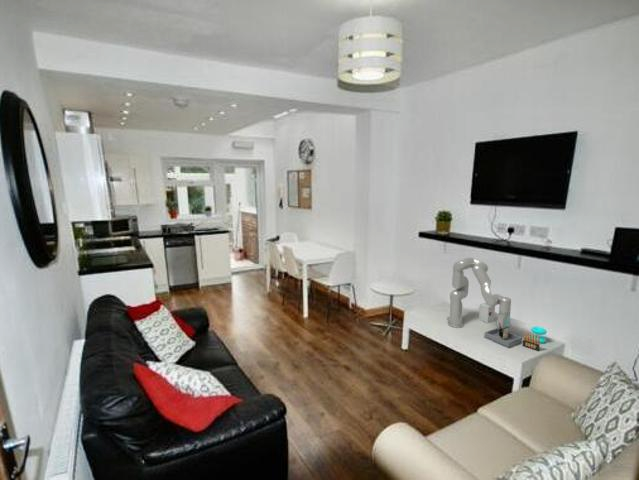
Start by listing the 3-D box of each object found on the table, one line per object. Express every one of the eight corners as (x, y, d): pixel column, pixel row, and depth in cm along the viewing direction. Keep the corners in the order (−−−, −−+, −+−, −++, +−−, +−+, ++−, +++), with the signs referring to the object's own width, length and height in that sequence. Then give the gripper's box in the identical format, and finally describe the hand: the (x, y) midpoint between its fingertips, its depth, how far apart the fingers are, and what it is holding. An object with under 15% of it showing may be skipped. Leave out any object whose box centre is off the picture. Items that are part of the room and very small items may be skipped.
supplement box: (487, 323, 289) (488, 307, 286) (478, 319, 297) (479, 304, 294) (494, 321, 293) (495, 305, 290) (485, 317, 301) (486, 302, 298)
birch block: (498, 336, 259) (498, 327, 258) (502, 335, 261) (502, 326, 260) (503, 339, 255) (504, 329, 254) (507, 337, 257) (508, 328, 256)
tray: (484, 337, 264) (484, 332, 263) (497, 332, 271) (497, 327, 270) (508, 348, 246) (508, 342, 246) (521, 343, 254) (522, 337, 253)
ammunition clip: (522, 346, 249) (523, 331, 247) (523, 345, 250) (524, 330, 248) (538, 351, 241) (539, 335, 239) (539, 350, 242) (540, 335, 240)
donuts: (542, 326, 259) (549, 331, 249) (541, 338, 260) (548, 344, 251) (528, 325, 260) (534, 331, 251) (527, 337, 262) (533, 343, 252)
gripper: (506, 309, 262) (505, 331, 265) (492, 313, 254) (491, 336, 257) (516, 312, 255) (514, 334, 258) (502, 317, 248) (500, 339, 251)
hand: (503, 335), depth 258 cm, fingers closed on birch block, 4 cm apart
